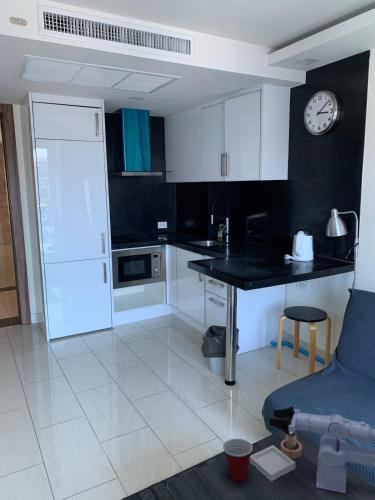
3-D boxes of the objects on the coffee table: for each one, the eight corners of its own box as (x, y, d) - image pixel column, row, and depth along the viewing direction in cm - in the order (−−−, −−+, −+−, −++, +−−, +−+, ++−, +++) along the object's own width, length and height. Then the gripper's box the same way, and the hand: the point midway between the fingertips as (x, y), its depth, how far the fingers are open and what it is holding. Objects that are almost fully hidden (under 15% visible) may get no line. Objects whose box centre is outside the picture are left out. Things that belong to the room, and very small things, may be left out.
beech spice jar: (296, 449, 151) (296, 428, 150) (296, 455, 148) (296, 434, 146) (286, 447, 153) (286, 426, 152) (285, 453, 149) (285, 432, 148)
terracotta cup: (302, 446, 153) (302, 440, 152) (301, 460, 145) (301, 453, 145) (282, 443, 155) (282, 437, 155) (279, 456, 148) (279, 449, 147)
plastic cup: (250, 464, 144) (249, 435, 142) (256, 486, 133) (255, 454, 131) (222, 466, 144) (221, 437, 142) (225, 487, 133) (224, 456, 131)
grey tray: (273, 450, 151) (272, 445, 151) (295, 468, 141) (295, 462, 140) (249, 462, 145) (249, 456, 145) (271, 481, 135) (271, 475, 134)
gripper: (311, 403, 140) (275, 399, 145) (307, 419, 126) (266, 414, 132) (312, 422, 140) (275, 417, 145) (308, 440, 126) (267, 434, 132)
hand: (271, 417), depth 139 cm, fingers open, 7 cm apart
